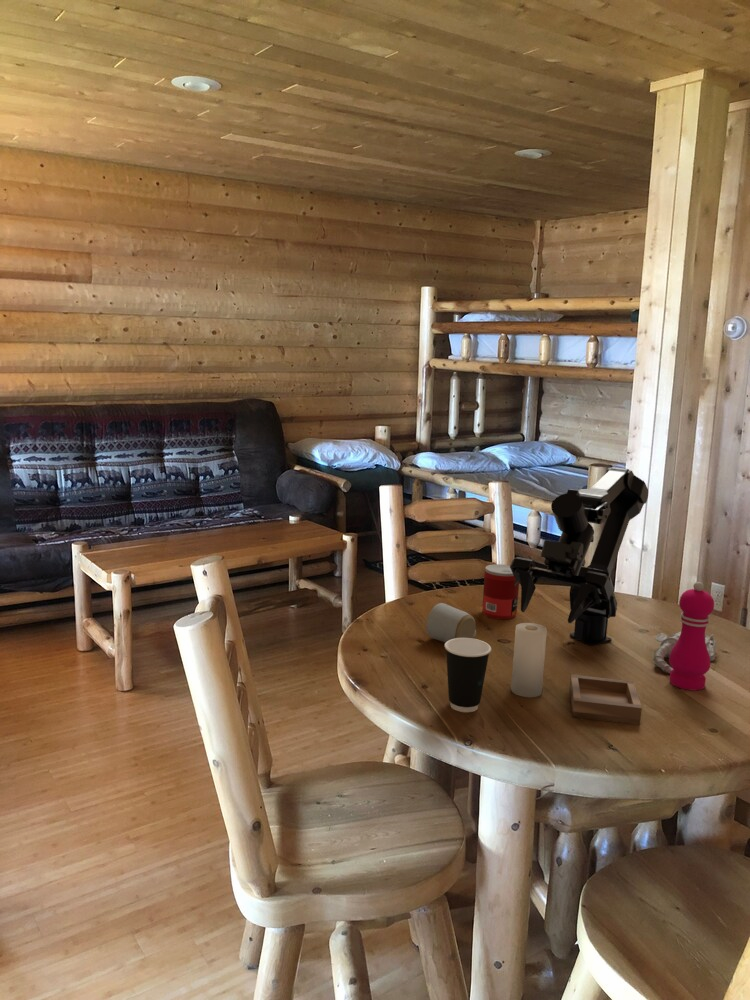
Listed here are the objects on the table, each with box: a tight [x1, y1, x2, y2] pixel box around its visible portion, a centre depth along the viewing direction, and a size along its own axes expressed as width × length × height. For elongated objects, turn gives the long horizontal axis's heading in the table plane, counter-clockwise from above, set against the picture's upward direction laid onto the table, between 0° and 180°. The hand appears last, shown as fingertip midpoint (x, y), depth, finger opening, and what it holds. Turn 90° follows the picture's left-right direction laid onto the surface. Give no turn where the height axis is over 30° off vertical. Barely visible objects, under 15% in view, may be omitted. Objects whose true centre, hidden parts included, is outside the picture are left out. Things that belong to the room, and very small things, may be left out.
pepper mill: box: [668, 581, 715, 691], centre depth 149 cm, size 7×7×20 cm
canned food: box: [482, 563, 520, 620], centre depth 184 cm, size 8×8×11 cm
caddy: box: [569, 674, 643, 726], centre depth 139 cm, size 11×11×3 cm
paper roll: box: [510, 622, 548, 698], centre depth 144 cm, size 6×6×12 cm
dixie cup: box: [444, 637, 492, 713], centre depth 137 cm, size 8×8×11 cm
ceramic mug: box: [425, 602, 477, 644], centre depth 167 cm, size 11×8×8 cm
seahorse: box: [652, 630, 717, 674], centre depth 162 cm, size 5×12×20 cm
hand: (545, 616), depth 147 cm, fingers open, 9 cm apart
